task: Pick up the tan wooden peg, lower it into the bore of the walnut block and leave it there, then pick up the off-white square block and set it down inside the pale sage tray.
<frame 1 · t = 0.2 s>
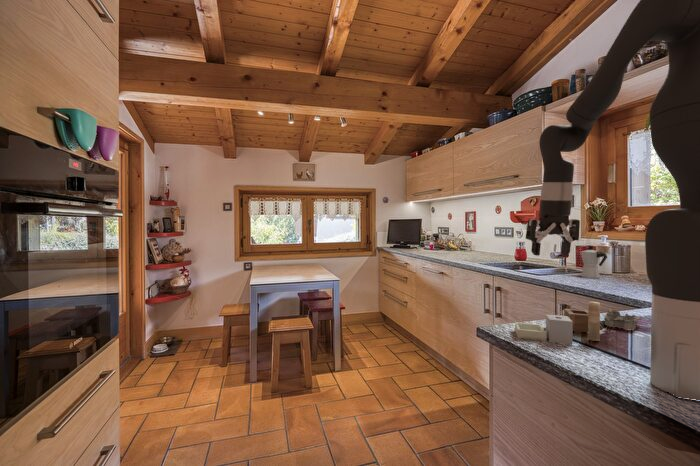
hand: (550, 255, 92), 22 cm above the countertop, tool pointing down, fingers open, 8 cm apart
tan wooden peg: (593, 340, 83), on the countertop
bore block: (578, 329, 92), on the countertop
coffee maker: (592, 277, 179), on the countertop
tray: (529, 335, 87), on the countertop
grey lumpy piece: (621, 326, 96), on the countertop
off-white square block: (558, 340, 84), on the countertop
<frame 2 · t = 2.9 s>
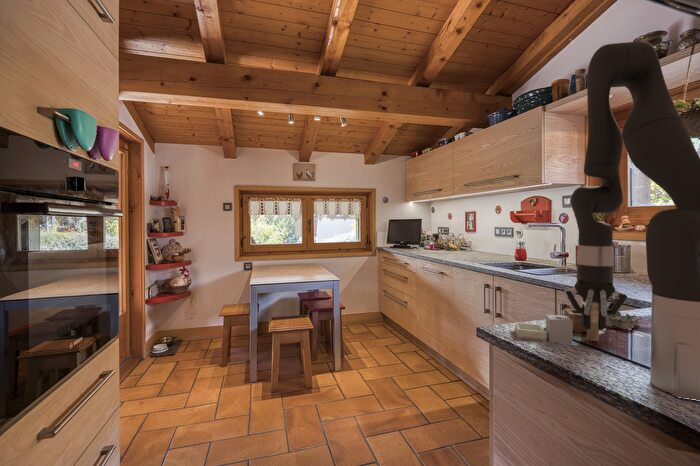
hand: (593, 328, 83), 3 cm above the countertop, tool pointing down, fingers closed on tan wooden peg, 2 cm apart
tan wooden peg: (592, 340, 83), on the countertop, touching gripper
everything else where it was.
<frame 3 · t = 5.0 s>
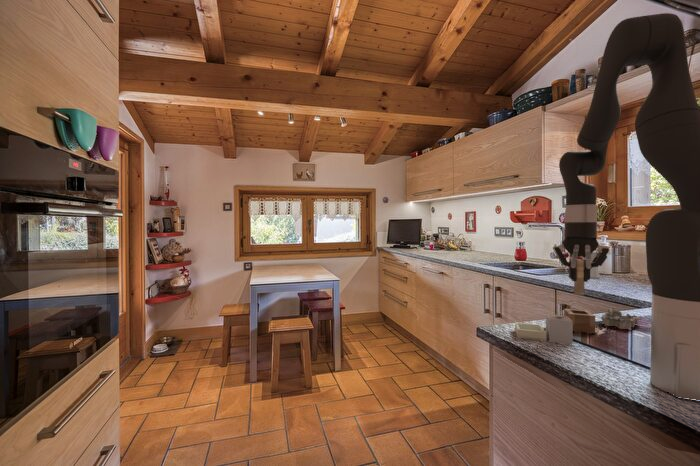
hand: (579, 280, 92), 14 cm above the countertop, tool pointing down, fingers closed on tan wooden peg
tan wooden peg: (579, 294, 92), point 10 cm above the countertop, touching gripper
everything else where it was.
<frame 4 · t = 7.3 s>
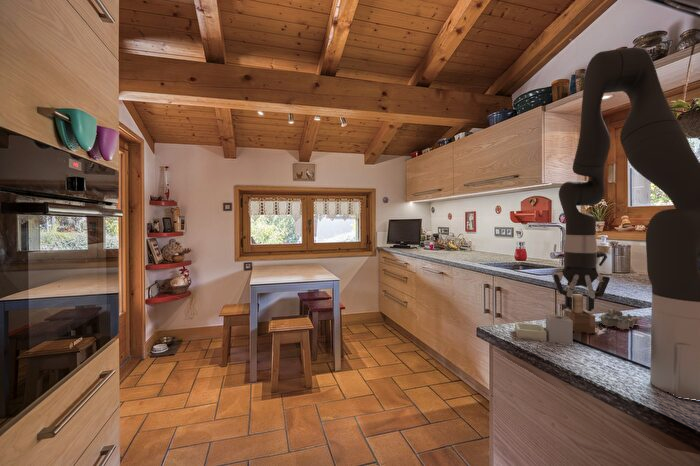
hand: (579, 309, 92), 6 cm above the countertop, tool pointing down, fingers open, 4 cm apart
tan wooden peg: (578, 329, 92), resting in bore block
everything else where it was.
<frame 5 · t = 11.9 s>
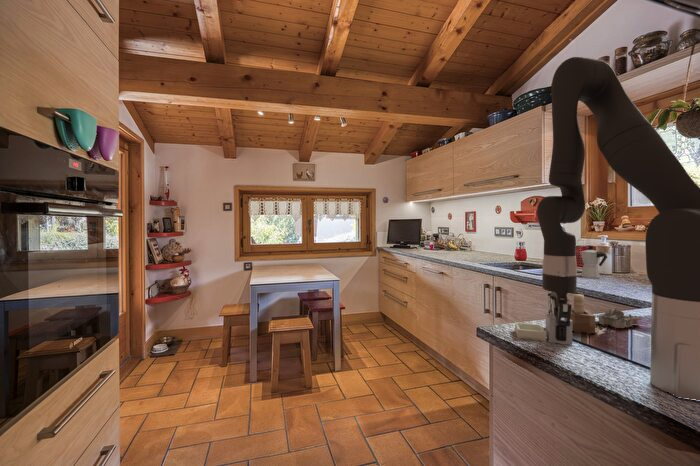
hand: (558, 336, 84), 1 cm above the countertop, tool pointing down, fingers closed on off-white square block, 5 cm apart
off-white square block: (558, 340, 84), on the countertop, touching gripper
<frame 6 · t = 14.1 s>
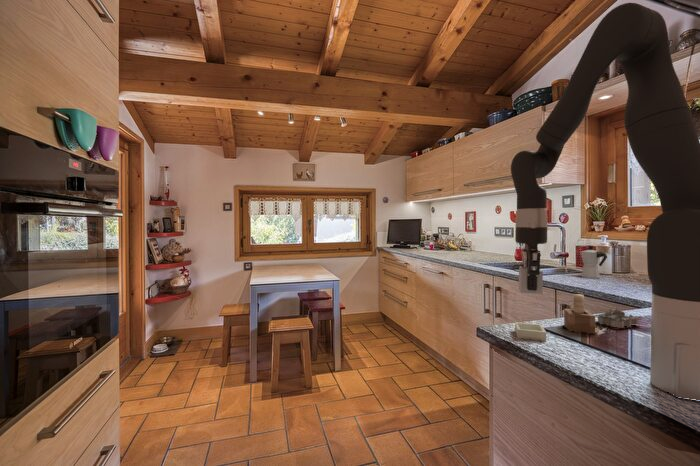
hand: (530, 287, 87), 13 cm above the countertop, tool pointing down, fingers closed on off-white square block, 5 cm apart
off-white square block: (530, 291, 87), point 12 cm above the countertop, touching gripper
when the fingers open (3 cm above the countertop, at t = 16.3 s): off-white square block drops 1 cm, resting on tray.
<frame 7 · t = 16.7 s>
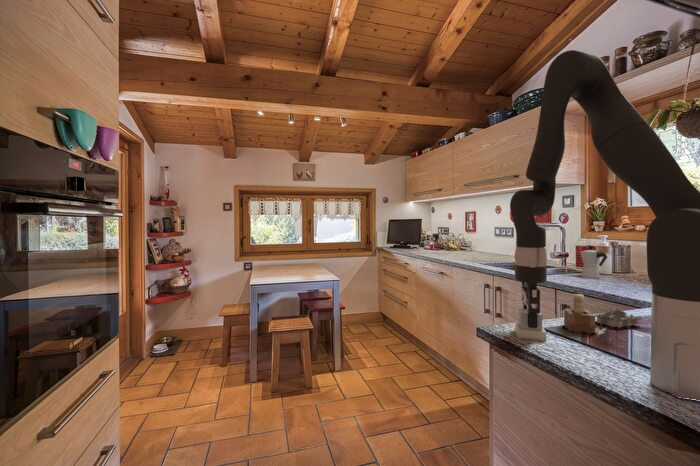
hand: (529, 322, 87), 4 cm above the countertop, tool pointing down, fingers open, 8 cm apart
off-white square block: (529, 333, 87), point 1 cm above the countertop, touching tray
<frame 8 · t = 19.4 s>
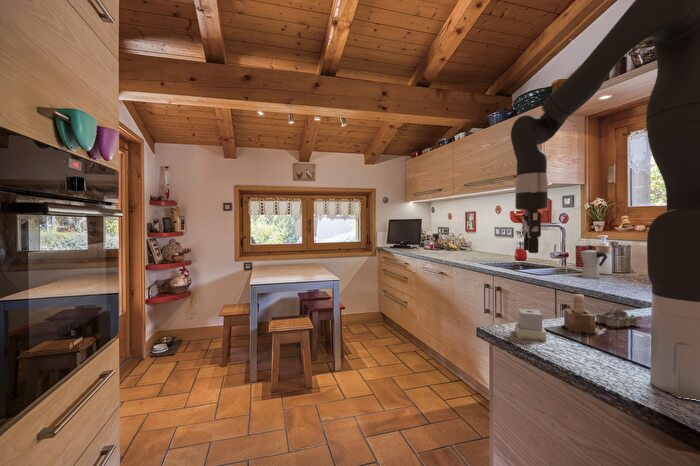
hand: (530, 251, 86), 23 cm above the countertop, tool pointing down, fingers open, 8 cm apart
at the end: off-white square block 0.1 cm off-centre on the tray, point 0.6 cm above the tray's base; tan wooden peg 0.2 cm from the target spot, resting in bore block; tan wooden peg tilted 0° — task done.
